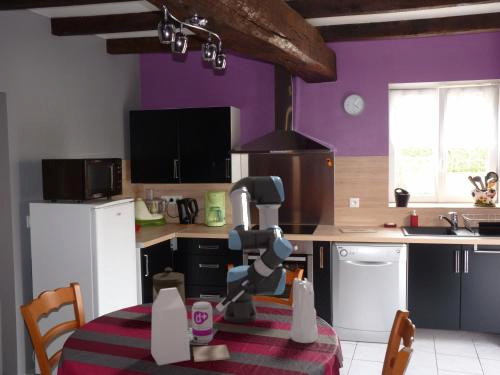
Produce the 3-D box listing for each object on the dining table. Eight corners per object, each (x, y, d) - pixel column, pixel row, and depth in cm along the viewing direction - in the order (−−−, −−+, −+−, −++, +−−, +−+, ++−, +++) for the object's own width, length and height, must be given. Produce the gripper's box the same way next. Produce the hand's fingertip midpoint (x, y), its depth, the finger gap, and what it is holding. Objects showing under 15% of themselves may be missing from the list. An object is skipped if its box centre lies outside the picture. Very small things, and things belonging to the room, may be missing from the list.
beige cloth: (226, 346, 206) (226, 344, 205) (229, 359, 194) (229, 356, 194) (192, 349, 203) (192, 347, 203) (194, 361, 192) (194, 359, 192)
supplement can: (209, 344, 208) (208, 307, 207) (189, 343, 210) (189, 306, 209) (215, 337, 216) (214, 301, 215) (196, 335, 218) (195, 300, 217)
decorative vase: (320, 334, 217) (319, 275, 215) (314, 344, 207) (314, 282, 205) (294, 332, 220) (294, 273, 218) (288, 341, 210) (287, 280, 208)
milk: (158, 365, 189) (156, 294, 187) (151, 353, 200) (149, 287, 198) (190, 359, 194) (188, 290, 192) (181, 348, 204) (180, 283, 202)
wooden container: (159, 308, 256) (158, 263, 254) (188, 309, 254) (187, 264, 252) (149, 318, 241) (147, 271, 239) (180, 319, 239) (179, 271, 237)
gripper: (264, 255, 214) (230, 288, 220) (241, 269, 191) (205, 306, 197) (276, 269, 212) (242, 302, 219) (255, 285, 189) (218, 321, 196)
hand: (225, 304), depth 208 cm, fingers open, 13 cm apart
